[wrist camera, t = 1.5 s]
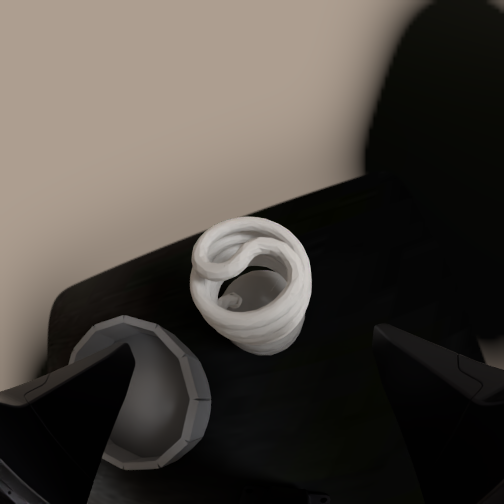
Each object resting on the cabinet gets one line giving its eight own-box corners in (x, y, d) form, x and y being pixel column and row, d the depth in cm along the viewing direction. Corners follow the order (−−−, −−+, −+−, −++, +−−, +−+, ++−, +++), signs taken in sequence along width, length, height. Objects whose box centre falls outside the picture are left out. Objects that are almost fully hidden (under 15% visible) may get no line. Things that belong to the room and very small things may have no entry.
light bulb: (228, 360, 20) (158, 316, 10) (237, 294, 23) (189, 198, 12) (302, 365, 19) (314, 327, 9) (305, 296, 22) (314, 196, 11)
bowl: (195, 482, 15) (177, 494, 12) (80, 427, 18) (55, 426, 15) (225, 346, 21) (213, 337, 18) (108, 316, 23) (87, 303, 20)
